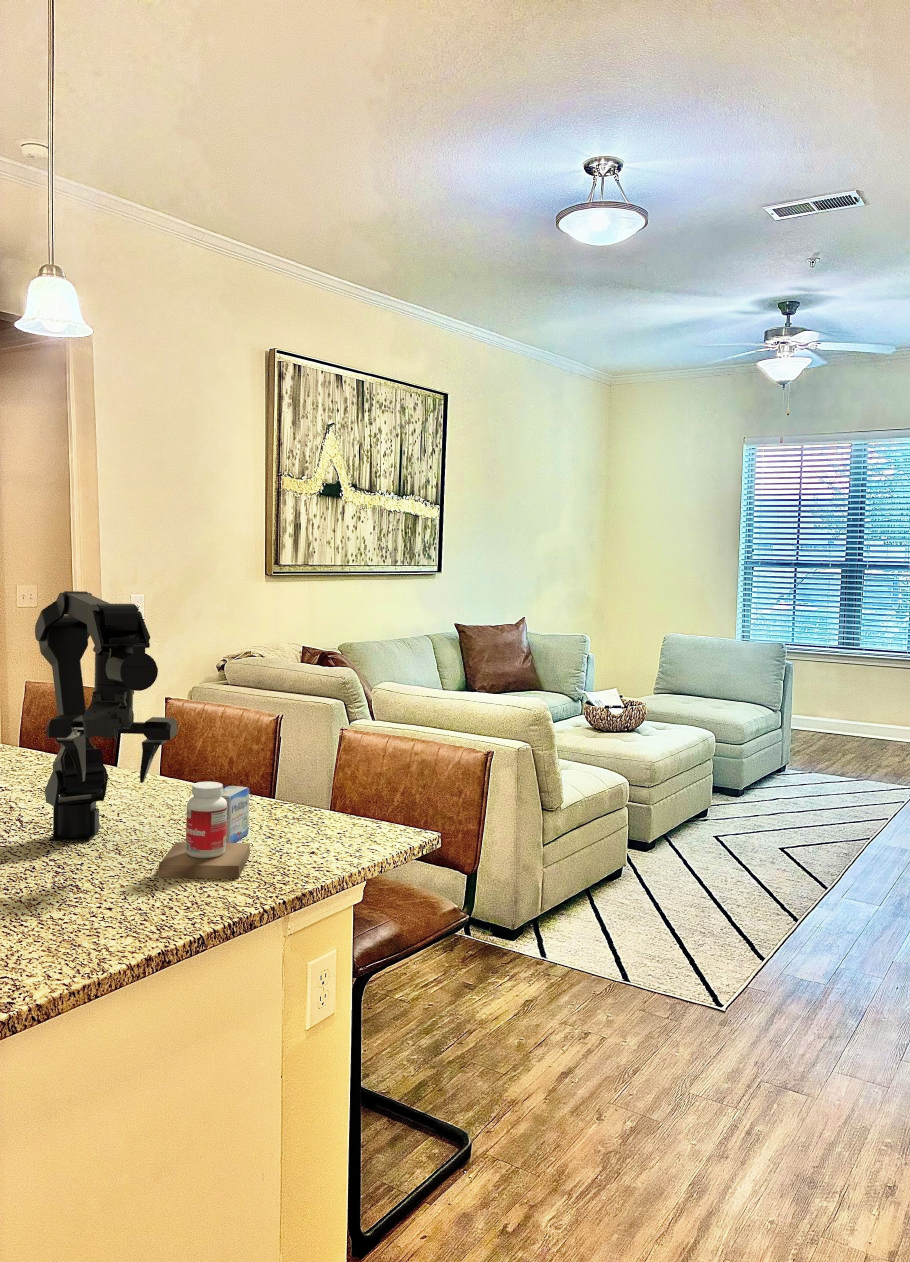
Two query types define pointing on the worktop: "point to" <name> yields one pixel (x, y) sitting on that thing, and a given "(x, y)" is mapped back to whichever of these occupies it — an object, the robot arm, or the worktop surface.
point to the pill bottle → (206, 821)
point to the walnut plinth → (204, 863)
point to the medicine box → (236, 812)
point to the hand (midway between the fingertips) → (112, 781)
